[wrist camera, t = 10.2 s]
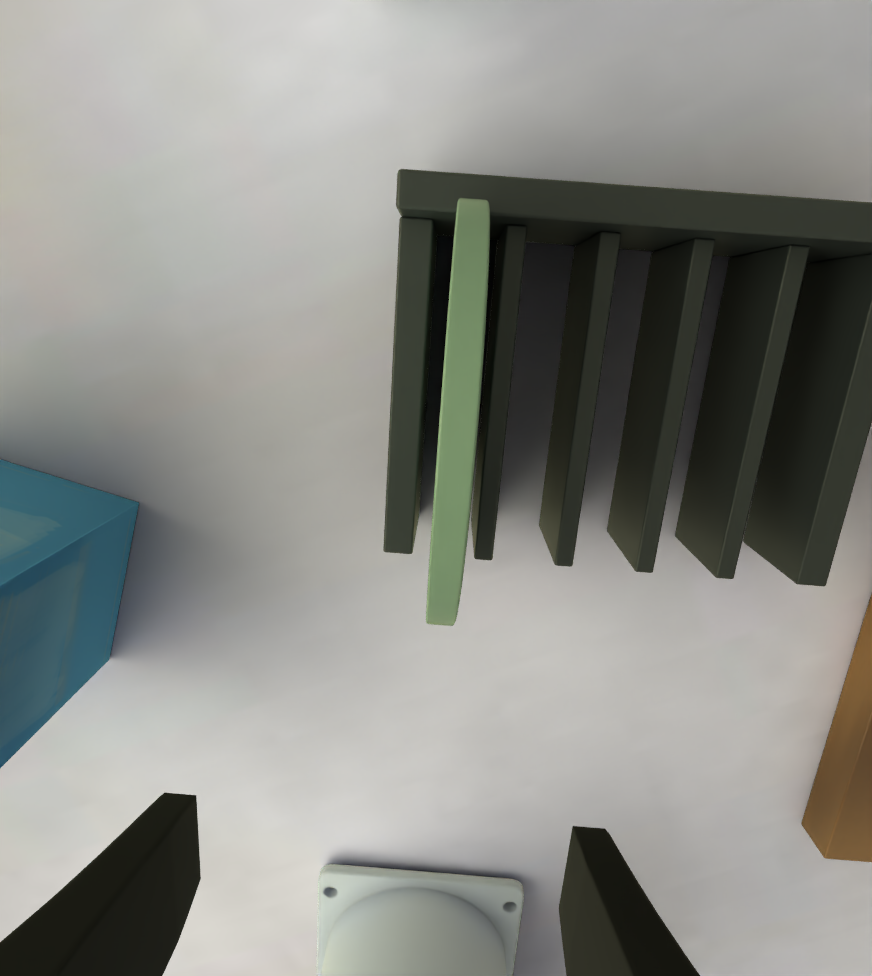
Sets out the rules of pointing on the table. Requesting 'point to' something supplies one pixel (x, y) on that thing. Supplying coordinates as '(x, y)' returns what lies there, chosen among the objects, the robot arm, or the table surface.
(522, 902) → the robot arm
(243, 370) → the table surface
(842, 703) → the cutting board
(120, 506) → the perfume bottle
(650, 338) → the dish rack
